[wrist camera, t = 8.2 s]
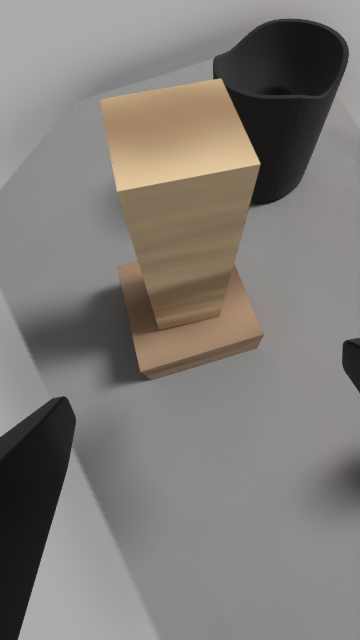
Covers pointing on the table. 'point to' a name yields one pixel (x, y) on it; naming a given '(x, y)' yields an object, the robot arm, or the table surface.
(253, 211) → the table surface
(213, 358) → the light brown block
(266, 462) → the table surface
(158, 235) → the oak pillar
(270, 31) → the pen holder
